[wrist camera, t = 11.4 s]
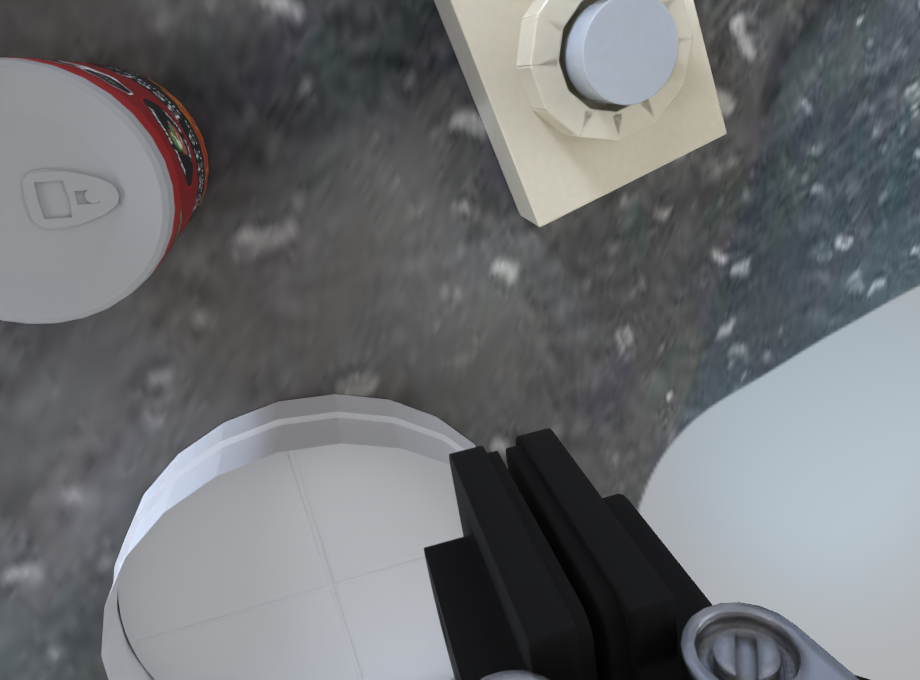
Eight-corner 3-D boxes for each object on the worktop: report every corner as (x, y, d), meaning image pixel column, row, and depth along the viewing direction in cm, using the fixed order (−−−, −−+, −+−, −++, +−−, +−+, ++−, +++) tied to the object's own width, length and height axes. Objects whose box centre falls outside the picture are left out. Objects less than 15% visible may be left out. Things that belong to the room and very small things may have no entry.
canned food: (240, 209, 31) (216, 270, 21) (71, 272, 31) (-36, 366, 21) (159, 35, 28) (86, 12, 18) (-31, 101, 28) (-215, 115, 18)
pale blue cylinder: (549, 23, 27) (568, 19, 25) (637, -19, 27) (663, -27, 26) (582, 119, 29) (601, 122, 27) (665, 78, 29) (690, 78, 27)
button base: (420, -33, 30) (443, -53, 25) (623, -130, 30) (682, -167, 26) (520, 216, 35) (554, 237, 30) (693, 129, 35) (753, 137, 30)
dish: (52, 457, 34) (14, 516, 29) (484, 348, 37) (511, 386, 32) (196, 760, 42) (184, 843, 38) (536, 651, 45) (563, 715, 41)
